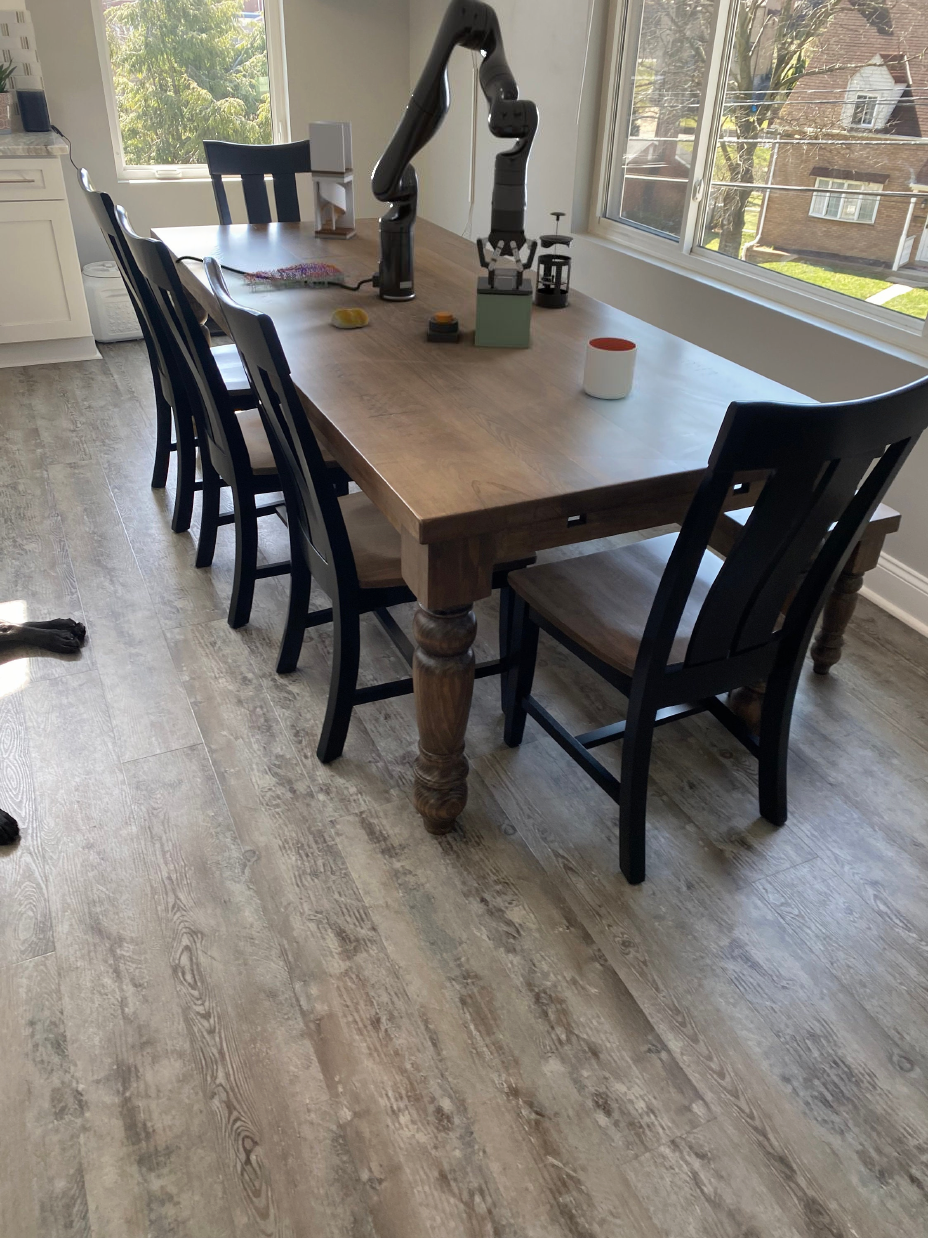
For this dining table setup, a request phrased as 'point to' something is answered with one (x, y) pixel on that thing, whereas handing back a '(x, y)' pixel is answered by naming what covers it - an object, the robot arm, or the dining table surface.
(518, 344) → the sage green box
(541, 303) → the french press
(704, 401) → the dining table surface
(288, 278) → the multicoloured piece
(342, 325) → the bread roll
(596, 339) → the cup
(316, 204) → the white tower
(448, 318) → the button
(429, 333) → the block
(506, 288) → the lid
